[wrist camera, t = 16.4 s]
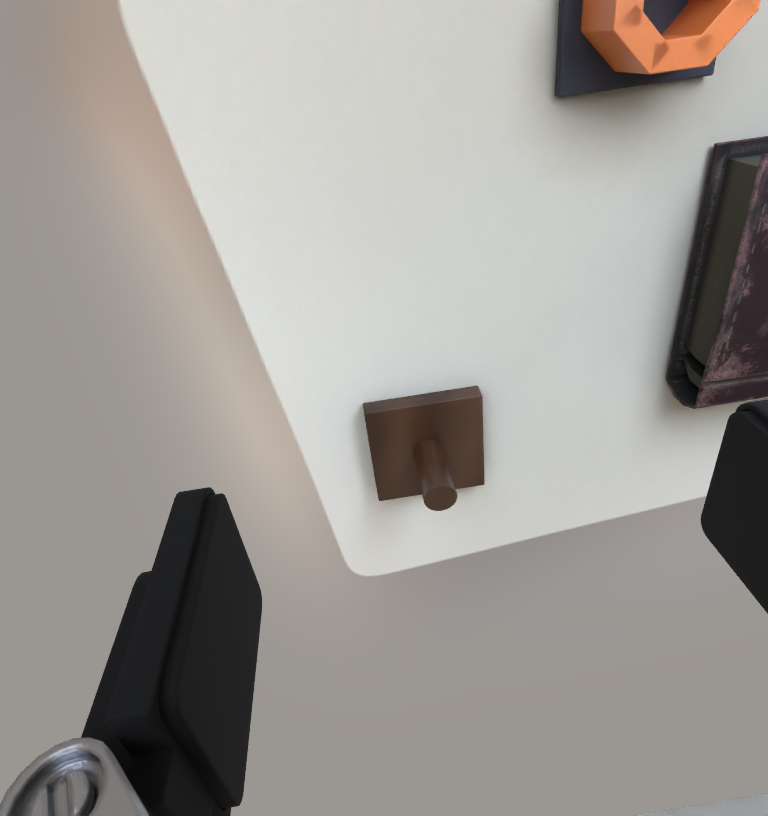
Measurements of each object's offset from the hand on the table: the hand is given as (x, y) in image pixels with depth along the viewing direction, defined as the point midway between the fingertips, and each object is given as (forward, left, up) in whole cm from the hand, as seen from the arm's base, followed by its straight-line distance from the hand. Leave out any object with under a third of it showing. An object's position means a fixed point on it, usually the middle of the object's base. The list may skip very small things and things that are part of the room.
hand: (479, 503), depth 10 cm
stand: (+2, -20, -28) cm, 35 cm away
